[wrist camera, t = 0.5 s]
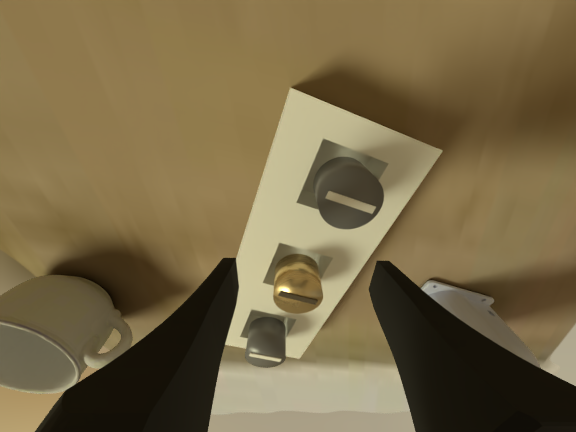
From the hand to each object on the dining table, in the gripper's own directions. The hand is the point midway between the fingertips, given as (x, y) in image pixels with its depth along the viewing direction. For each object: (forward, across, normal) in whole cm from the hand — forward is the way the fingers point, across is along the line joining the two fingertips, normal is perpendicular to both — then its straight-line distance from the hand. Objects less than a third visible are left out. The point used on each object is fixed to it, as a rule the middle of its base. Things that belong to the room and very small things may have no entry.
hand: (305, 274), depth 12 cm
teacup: (+10, +24, +14) cm, 29 cm away
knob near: (+7, -3, -2) cm, 8 cm away
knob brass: (+7, 0, +6) cm, 9 cm away
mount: (+10, 0, +6) cm, 12 cm away
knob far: (+7, +3, +15) cm, 16 cm away
